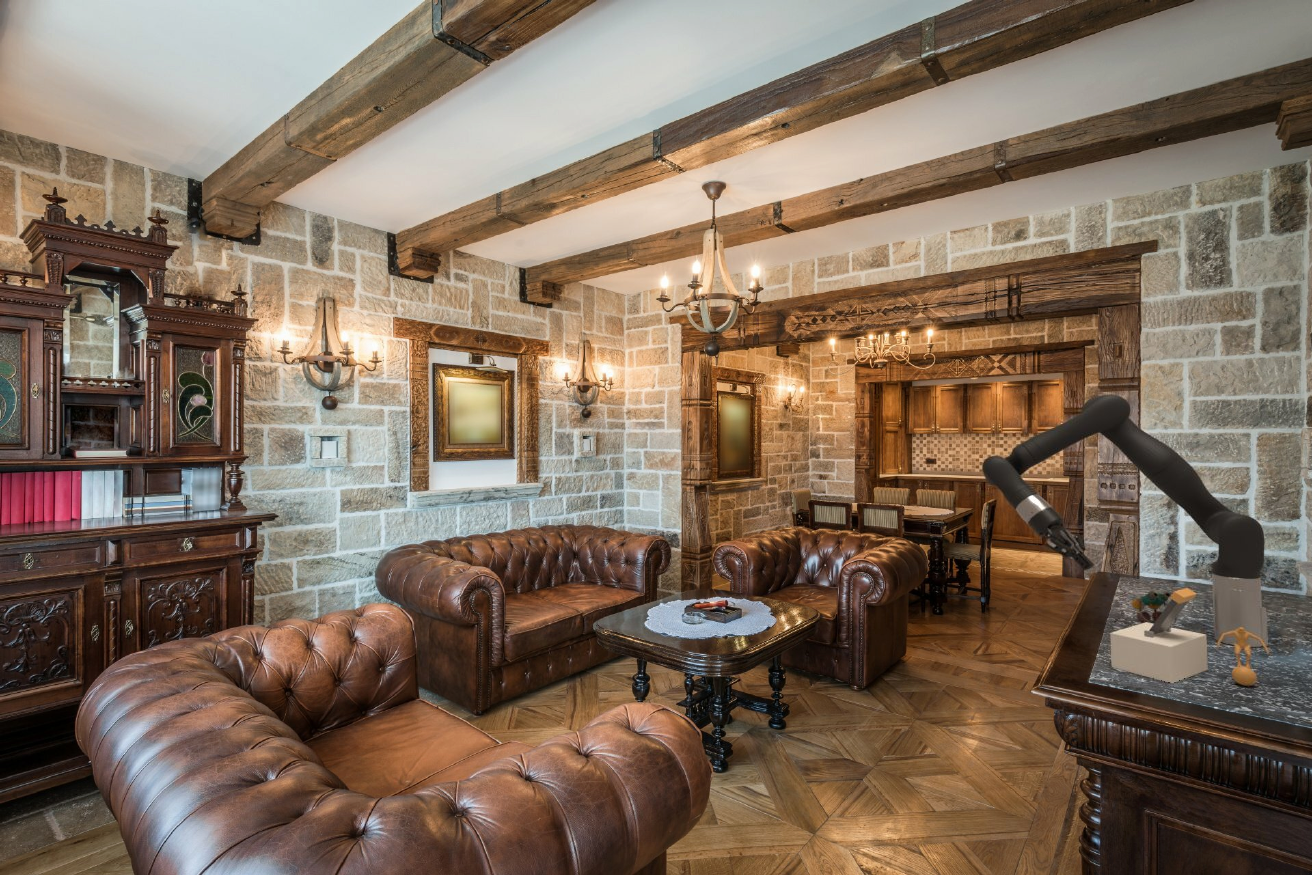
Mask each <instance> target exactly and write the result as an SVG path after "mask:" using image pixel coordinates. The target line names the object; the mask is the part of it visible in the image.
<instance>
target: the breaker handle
mask: <svg viewBox="0 0 1312 875" xmlns="http://www.w3.org/2000/svg"><path fill="white" fill-rule="evenodd" d="M1196 595H1197V593H1196V592H1195V591H1193V590H1191V589H1190V588H1189V587H1186V588H1182V589H1179V590H1176V591H1173V593H1171V597H1169V598H1170V601H1169V602H1168V604H1167V605H1166V606H1165V607H1166V608H1165V607H1164V609H1163V610H1162V611H1161V612H1162V613H1161V615H1160V616H1159V618H1158V619H1157V620H1156V621H1154V623H1152V624H1153V626H1152V627H1151V629H1150V630H1149V631H1152V632H1154V635H1155V634H1158V633H1161V632H1164V631H1167V629H1168V628H1169V627H1171V626H1172V624H1173V623H1174V621H1175V619H1176V617H1177V618H1178V616H1179V614H1180V613H1181V612H1182V611H1183V610H1184V608H1185V607H1186V605H1187V603H1188V602H1190V601H1193V600H1194V599H1195V597H1196ZM1170 625H1171V626H1170Z"/></svg>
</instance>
